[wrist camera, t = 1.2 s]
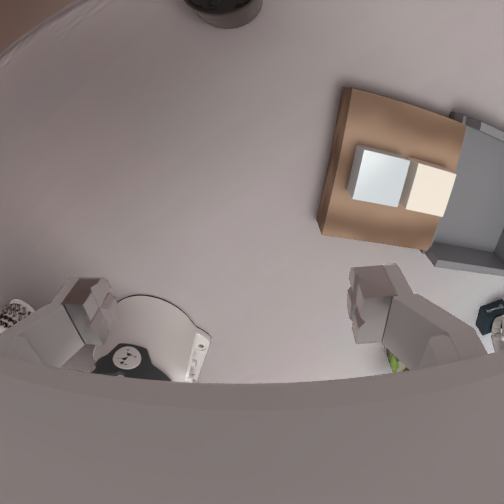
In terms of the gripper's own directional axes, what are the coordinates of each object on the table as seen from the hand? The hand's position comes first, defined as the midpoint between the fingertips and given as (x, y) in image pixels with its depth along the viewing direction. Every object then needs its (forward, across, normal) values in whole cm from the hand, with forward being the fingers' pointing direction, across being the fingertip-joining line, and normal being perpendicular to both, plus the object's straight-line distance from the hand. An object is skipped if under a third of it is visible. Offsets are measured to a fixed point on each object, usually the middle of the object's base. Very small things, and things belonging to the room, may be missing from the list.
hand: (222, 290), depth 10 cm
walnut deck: (+27, -15, +4) cm, 31 cm away
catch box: (+27, -29, +8) cm, 41 cm away
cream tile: (+23, -18, +5) cm, 30 cm away
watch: (+28, -40, +30) cm, 57 cm away
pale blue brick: (+23, -12, +4) cm, 26 cm away
